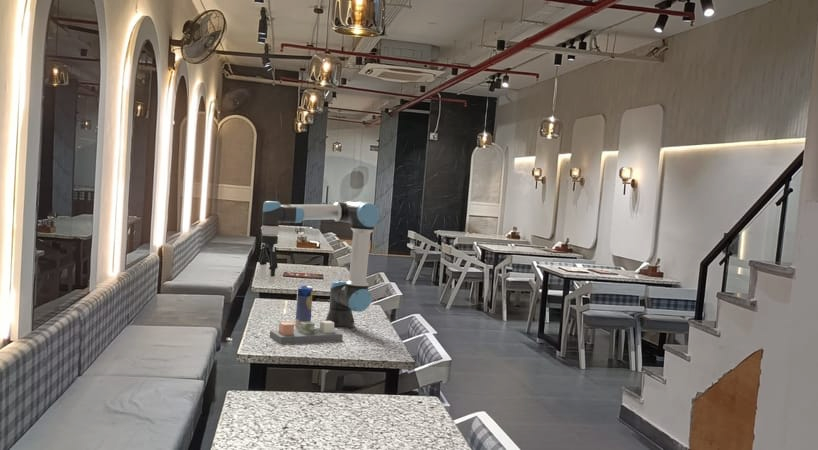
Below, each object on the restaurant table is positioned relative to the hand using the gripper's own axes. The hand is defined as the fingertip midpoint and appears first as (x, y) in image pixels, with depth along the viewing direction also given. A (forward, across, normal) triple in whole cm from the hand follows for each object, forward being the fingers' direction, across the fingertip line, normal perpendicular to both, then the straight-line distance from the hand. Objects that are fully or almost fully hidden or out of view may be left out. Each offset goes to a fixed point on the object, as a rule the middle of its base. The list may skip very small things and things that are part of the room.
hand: (266, 281), depth 328 cm
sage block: (+23, +10, +17) cm, 30 cm away
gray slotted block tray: (+26, +10, +17) cm, 33 cm away
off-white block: (+23, +10, +27) cm, 37 cm away
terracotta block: (+23, +11, +7) cm, 26 cm away
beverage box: (+26, -7, +22) cm, 35 cm away
